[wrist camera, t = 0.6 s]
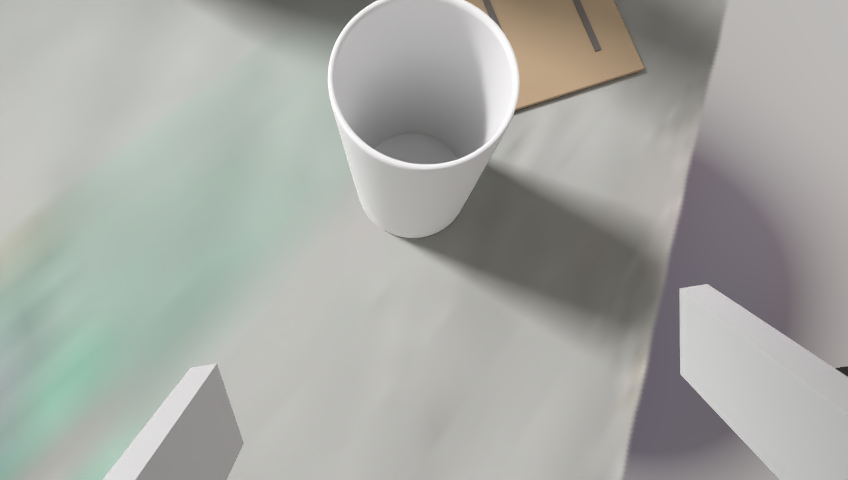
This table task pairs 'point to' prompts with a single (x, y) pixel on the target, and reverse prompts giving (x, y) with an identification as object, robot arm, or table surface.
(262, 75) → the table surface
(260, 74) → the table surface
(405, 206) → the cup
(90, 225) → the table surface
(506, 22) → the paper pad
